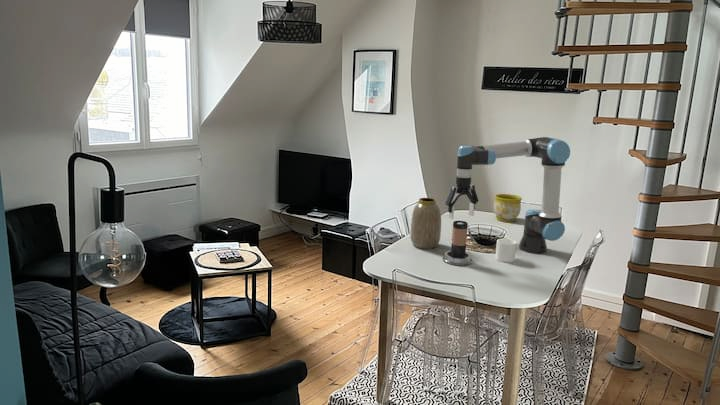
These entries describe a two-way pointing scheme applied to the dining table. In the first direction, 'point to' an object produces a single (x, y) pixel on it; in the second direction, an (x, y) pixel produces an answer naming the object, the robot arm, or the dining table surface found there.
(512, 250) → the mug
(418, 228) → the vase
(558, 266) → the dining table surface
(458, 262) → the ring
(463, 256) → the travel mug
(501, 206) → the flowerpot
